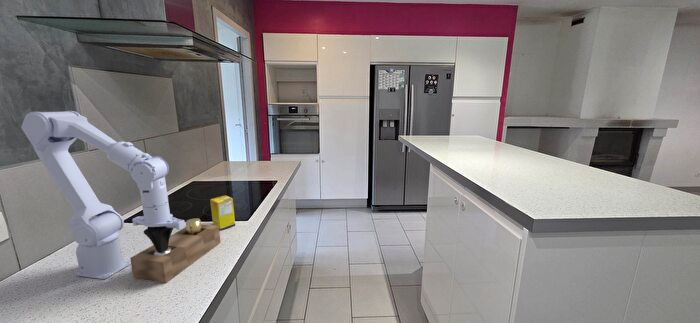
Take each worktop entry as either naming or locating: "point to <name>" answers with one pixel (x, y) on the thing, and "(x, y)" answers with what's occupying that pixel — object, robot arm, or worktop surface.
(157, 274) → the walnut peg board
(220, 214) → the supplement box
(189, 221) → the brass peg
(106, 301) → the worktop surface
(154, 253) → the steel peg
